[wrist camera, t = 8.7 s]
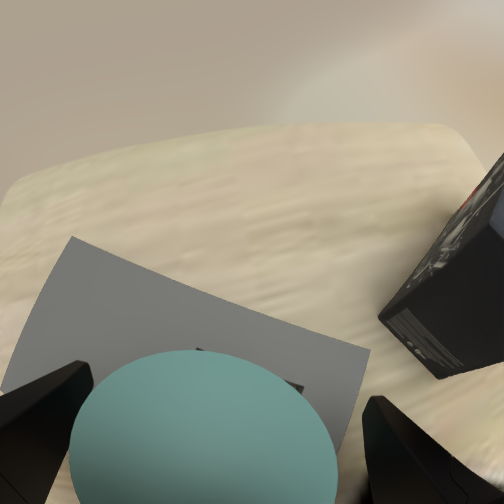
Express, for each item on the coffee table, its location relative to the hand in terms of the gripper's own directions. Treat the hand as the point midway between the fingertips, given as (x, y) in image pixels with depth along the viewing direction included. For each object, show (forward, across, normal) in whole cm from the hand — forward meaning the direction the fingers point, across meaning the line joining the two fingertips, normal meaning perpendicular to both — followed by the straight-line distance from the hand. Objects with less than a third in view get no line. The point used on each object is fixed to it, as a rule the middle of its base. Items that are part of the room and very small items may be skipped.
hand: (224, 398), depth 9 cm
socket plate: (+6, +4, +6) cm, 10 cm away
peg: (+5, 0, +7) cm, 9 cm away
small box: (+12, -15, +1) cm, 20 cm away
